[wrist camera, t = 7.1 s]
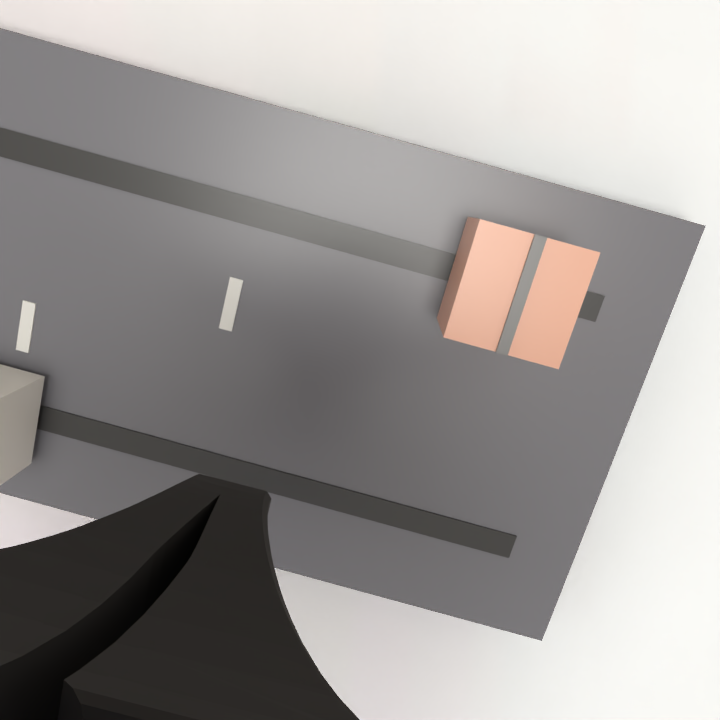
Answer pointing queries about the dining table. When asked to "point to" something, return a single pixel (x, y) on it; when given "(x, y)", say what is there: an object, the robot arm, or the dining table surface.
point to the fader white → (18, 418)
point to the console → (308, 332)
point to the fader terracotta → (515, 292)
